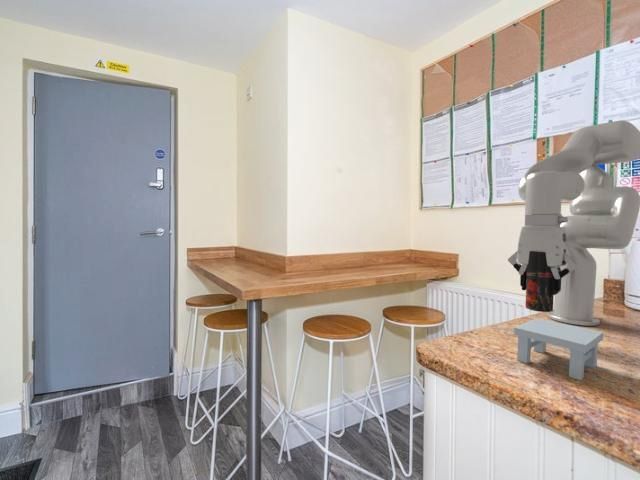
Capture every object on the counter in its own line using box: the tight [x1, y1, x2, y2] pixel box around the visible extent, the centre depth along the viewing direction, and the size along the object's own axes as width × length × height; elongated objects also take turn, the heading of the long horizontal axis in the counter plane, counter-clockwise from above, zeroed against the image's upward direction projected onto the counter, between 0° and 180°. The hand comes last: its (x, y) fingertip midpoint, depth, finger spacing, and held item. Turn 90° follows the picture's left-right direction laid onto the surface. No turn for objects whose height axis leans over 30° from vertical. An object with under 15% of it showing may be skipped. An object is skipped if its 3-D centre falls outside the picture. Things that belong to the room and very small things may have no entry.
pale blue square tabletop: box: [513, 317, 604, 381], centre depth 68 cm, size 12×12×7 cm
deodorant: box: [525, 251, 555, 313], centre depth 84 cm, size 6×6×15 cm
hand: (539, 290), depth 85 cm, fingers closed on deodorant, 5 cm apart
